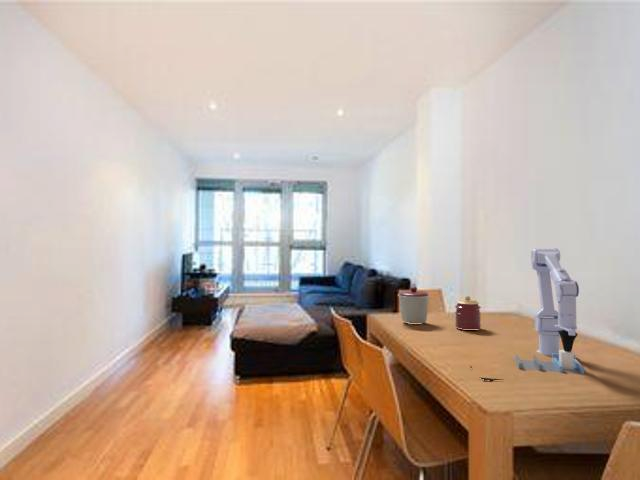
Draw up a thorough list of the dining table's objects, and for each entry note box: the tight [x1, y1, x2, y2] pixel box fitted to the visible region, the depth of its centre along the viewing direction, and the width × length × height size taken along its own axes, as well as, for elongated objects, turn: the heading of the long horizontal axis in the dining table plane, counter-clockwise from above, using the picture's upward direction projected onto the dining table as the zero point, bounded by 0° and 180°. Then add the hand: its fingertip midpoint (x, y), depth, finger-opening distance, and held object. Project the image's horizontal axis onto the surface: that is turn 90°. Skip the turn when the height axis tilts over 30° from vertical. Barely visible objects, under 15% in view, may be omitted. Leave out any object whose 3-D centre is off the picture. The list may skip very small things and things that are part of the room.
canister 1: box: [397, 286, 431, 324], centre depth 239 cm, size 18×18×21 cm
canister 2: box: [454, 295, 482, 330], centre depth 223 cm, size 13×13×18 cm
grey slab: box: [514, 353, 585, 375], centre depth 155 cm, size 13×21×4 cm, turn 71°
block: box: [559, 349, 575, 370], centre depth 153 cm, size 4×4×6 cm
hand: (567, 351), depth 153 cm, fingers closed
